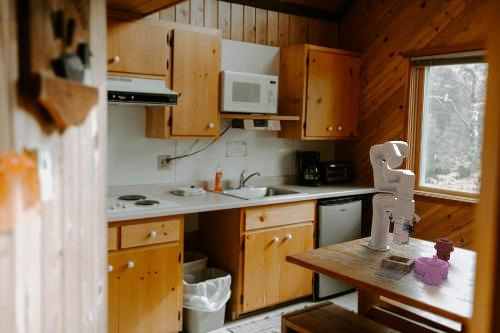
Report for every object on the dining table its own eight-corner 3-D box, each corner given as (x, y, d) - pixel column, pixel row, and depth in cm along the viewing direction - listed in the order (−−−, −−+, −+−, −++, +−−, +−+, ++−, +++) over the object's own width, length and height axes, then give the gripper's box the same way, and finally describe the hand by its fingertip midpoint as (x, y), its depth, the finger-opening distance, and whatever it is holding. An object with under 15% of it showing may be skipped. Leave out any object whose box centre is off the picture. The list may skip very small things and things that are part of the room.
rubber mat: (373, 274, 233) (373, 273, 233) (381, 267, 243) (381, 267, 243) (399, 280, 227) (399, 279, 227) (405, 273, 237) (406, 272, 237)
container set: (413, 267, 248) (416, 242, 246) (445, 272, 243) (448, 246, 242) (415, 283, 224) (418, 255, 223) (450, 289, 220) (453, 260, 218)
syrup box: (400, 245, 242) (403, 217, 240) (391, 242, 247) (394, 214, 245) (408, 244, 245) (411, 216, 243) (400, 241, 250) (403, 213, 248)
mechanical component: (450, 259, 265) (454, 265, 255) (431, 257, 267) (434, 263, 257) (452, 237, 264) (456, 242, 254) (433, 235, 265) (436, 240, 256)
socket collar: (381, 267, 245) (381, 259, 244) (389, 260, 256) (389, 253, 256) (408, 273, 238) (409, 265, 237) (415, 266, 249) (416, 259, 249)
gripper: (385, 195, 244) (382, 229, 247) (421, 201, 235) (417, 236, 237) (390, 193, 250) (386, 226, 253) (425, 198, 241) (421, 233, 244)
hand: (401, 231), depth 245 cm, fingers closed on syrup box, 7 cm apart
